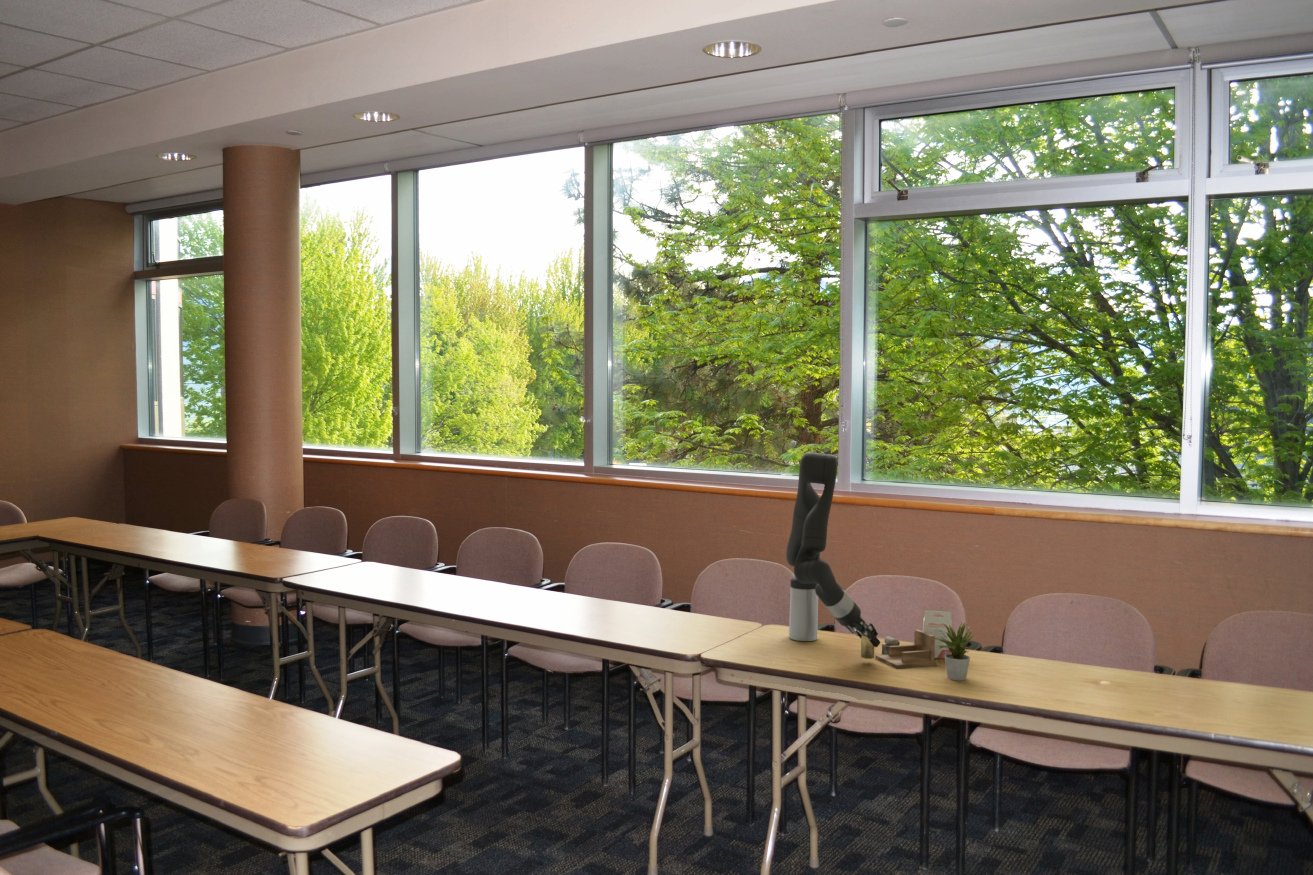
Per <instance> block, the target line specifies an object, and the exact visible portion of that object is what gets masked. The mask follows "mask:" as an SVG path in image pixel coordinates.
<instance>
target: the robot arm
mask: <svg viewBox="0 0 1313 875" xmlns="http://www.w3.org/2000/svg"><path fill="white" fill-rule="evenodd" d="M798 470H799V472H798V484H797V493H796V498H795V503H794V508H793V514H792V524H791V530H790V535H789V538H788V541H787V545H786V556H785V557H786V562H787V564H788V565H789V566H791V567H793V572H794V576H793V577H791V579H790V585H789V586H790V587H789V588H790V589H789V590H790V593H789V596H790V598H789V599H790V601H789V602H790V603H789V618H788V619H789V622H788V624H789V625H788V626H789V628H788V636H789V639H791V640H793V641H798V642H814V641H816V640H818V626H819V623H818V620H819V616H818V615H819V600H820V601H821V603H823V605H824V606H825V607H826V609H827V610H828V611H829V613H830V614H831V615H832V617H834V619H835V620H836V621H837V622H838V623H839V624H840V625H841V626H843V627H845V628H846V629H847V630H848V631H849V632H850V633H851V634H855V635H856V637H859V639H861V635H862V636H865V637H866V638H867V639H868V640H869V641H870V642H871V643H872V644H873V646H874V648H878V647H879V645H880V644H881V641H880V640H879V639H878V638H879V637H877V636H878V635H879V633H878V631H877V630H876V627H875V628H874V626H875V625H874V624H873V623H869V625H868V623H867V622H866V620H865V619H864V618H863V617H862V611H861V608H860V607H859V606H858V604H857V603H856V602H855V601H854V600H853V599H852V597H851V596H850V595H849V594H848V593H847V592H846V591H845V590H844V589H843V588H842V586H841V584H839V583H838V581H837V580H836V578H835V575H834V572H833V570H832V569H831V566H830V564H829V563H828V561H826V560H824V559H822V558H821V553H822V552H824V551H825V550H826V547H827V538H828V525H829V518H830V513H831V512H830V511H831V508H832V504H833V503H832V502H833V498H834V492H835V487H836V480H837V474H838V459H837V457H836V455H834V454H832V453H831V454H829V453H821V452H811V451H810V452H808V451H807V452H805V453H803V454H802V456H801V458H800V462H799V469H798ZM812 484H817V485H824V486H823V492H822V493H821V496H820V495H819V494H818V492H816V491H817V490H815V489H814V488H813V486H812ZM873 625H874V626H873ZM865 628H866V629H865ZM862 631H864V632H862ZM867 634H868V635H869V636H868V635H867Z"/></svg>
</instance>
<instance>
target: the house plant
mask: <svg viewBox="0 0 1313 875" xmlns="http://www.w3.org/2000/svg"><path fill="white" fill-rule="evenodd" d="M940 623H941V622H940ZM942 624H943V623H942ZM966 625H968V624H967V621H966V622H964V623H963V624H962V622H961V623H960V624H959V626H958V629H957V634H956V632H955V630H954V629H953V627H951V626H950V625H949V627H950V628H948V627H947V626H946V625H945V624H944V626H945V627H946V628H947V631H948V632H946V633H947V635H948V637H949V638H950V640H951V642H950V641H947V640H948V639H947V640H945V639H944V638H943V637H942V638H943V639H939V638H933V639H936V640H940V641H941V642H944V643H946V645H947V646H948V647H949V648H948V647H947V646H942V645H940V646H937V647H940V648H939V649H941V648H944V647H946V649H947V648H948V649H949V650H950V651H951V653H950V654H945V659H944V662H945V668H946V669H945V670H946V678H948V679H949V680H952V681H966V680H967V676H968V670H969V665H970V661H971V657H970V656H969V655H967V654H968V653H969V651H967V650H968V649H969V648H970V647H974V646H975V644H972V645H970V646H968V647H967V645H968V643H969V641H971V639H972V638H973V637H974V636H976V635H977V634H978V633H977V632H976V633H974V634H973V635H972V636H971V634H972V631H973V629H971V630H970V625H969V626H968V627H967V626H966ZM966 627H967V629H966ZM931 628H933V627H931ZM936 629H937V628H936ZM949 629H950V630H949ZM965 629H966V632H965ZM939 630H940V629H939ZM969 630H970V631H969ZM941 631H942V630H941ZM950 631H951V632H950ZM939 632H940V631H939ZM944 632H945V631H944ZM964 632H965V634H964ZM941 633H942V632H941ZM942 634H943V633H942ZM951 634H952V635H951ZM944 636H945V635H944ZM945 637H946V636H945ZM946 638H947V637H946ZM937 643H938V642H937ZM939 643H940V642H939ZM939 643H938V644H939ZM978 646H980V644H978ZM937 647H936V648H937ZM948 649H947V650H948Z"/></svg>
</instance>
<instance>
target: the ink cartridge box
mask: <svg viewBox="0 0 1313 875" xmlns="http://www.w3.org/2000/svg"><path fill="white" fill-rule="evenodd" d="M934 615H935V616H934ZM936 615H940V616H936ZM922 622H923V623H922V631H923V632H926V633H928V634H931V635H933V636H935V638H939V639H943V638H944V639H945V640H947V639H948V640H947V641H950V642H951V640H950V638H949V637H948V635H947V633H946V632H948V631H947V628H946V627H945V626H944V624H945V625H946V626H947V627H948V628H950V627H949V625H950V626H951V627H952V626H953V623H952V612H951V611H943V610H942V611H941V610H940V611H939V610H924V617H923V621H922ZM940 622H941V623H940ZM942 623H943V624H942ZM931 627H933V628H931ZM936 628H937V629H936ZM952 628H953V627H952ZM939 629H940V630H939ZM941 630H942V631H941ZM949 630H950V629H949ZM939 631H940V632H939ZM944 631H945V632H944ZM941 632H942V633H943V634H942V633H941ZM950 632H951V631H950ZM944 635H945V636H946V637H947V638H946V637H945V636H944ZM951 635H952V634H951ZM942 637H943V638H942ZM937 642H938V643H939V642H940V643H939V644H938V643H937ZM940 645H942V646H947V645H946V643H944V642H941V641H940V640H936V639H935V653H934V659H943V660H945V654H950V653H951V651H950V650H949V649H948V648H949V647H948V646H947V647H948V648H947V649H948V650H947V649H946V647H944V648H941V649H939V648H940V647H937V646H940ZM936 647H937V648H936Z"/></svg>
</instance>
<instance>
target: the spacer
mask: <svg viewBox="0 0 1313 875" xmlns="http://www.w3.org/2000/svg"><path fill="white" fill-rule="evenodd" d="M867 624H868V623H867ZM869 624H870V623H869ZM869 624H868V625H869ZM873 626H874V628H875V629H876V625H874V624H873ZM865 629H866V628H865ZM862 632H864V631H862ZM867 635H868V634H867ZM868 636H869V635H868ZM860 657H861V658H862V659H866V660H869V659H870V660H871V659H875V647H874V646H873V644H872V643H871V642H870V641H869V640H868V639H867V638H866V637H865V636H862V635H861V638H860Z"/></svg>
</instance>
